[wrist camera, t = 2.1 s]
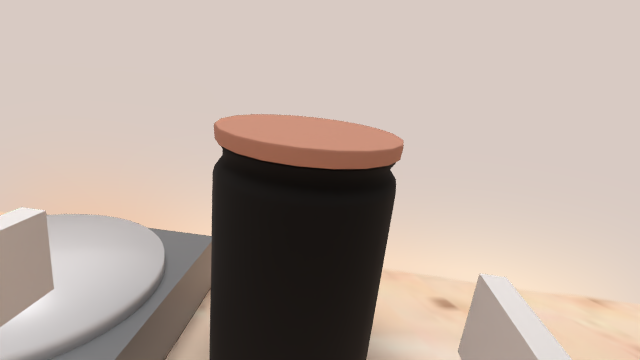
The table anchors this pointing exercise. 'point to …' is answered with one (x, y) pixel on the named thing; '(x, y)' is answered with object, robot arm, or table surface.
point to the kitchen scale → (111, 292)
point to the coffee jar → (298, 236)
